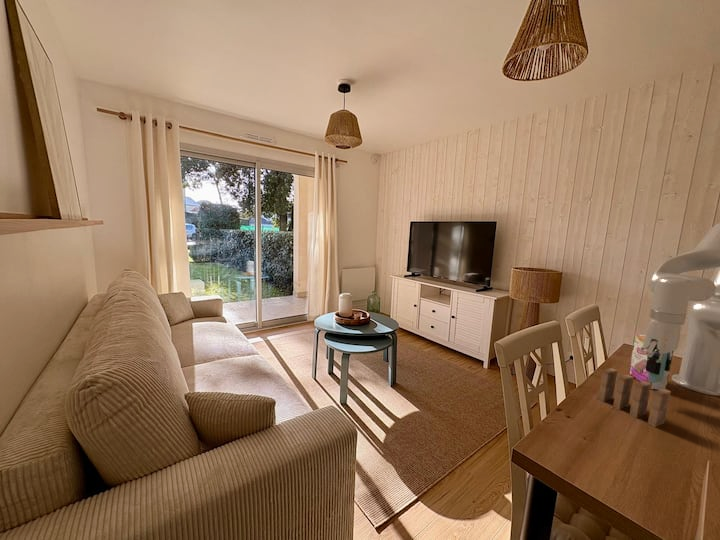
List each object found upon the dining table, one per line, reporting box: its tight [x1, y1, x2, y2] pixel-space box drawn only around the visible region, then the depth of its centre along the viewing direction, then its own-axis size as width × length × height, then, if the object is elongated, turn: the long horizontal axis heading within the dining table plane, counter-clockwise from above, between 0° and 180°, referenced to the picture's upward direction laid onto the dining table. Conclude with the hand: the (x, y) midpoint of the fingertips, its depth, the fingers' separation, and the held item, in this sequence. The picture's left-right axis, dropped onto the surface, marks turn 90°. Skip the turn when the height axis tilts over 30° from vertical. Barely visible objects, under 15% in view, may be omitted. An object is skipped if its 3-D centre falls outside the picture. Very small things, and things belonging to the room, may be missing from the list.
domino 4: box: [647, 388, 672, 428], centre depth 82 cm, size 5×2×10 cm, turn 112°
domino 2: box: [612, 373, 635, 410], centre depth 89 cm, size 5×2×10 cm, turn 112°
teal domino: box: [648, 350, 668, 383], centre depth 92 cm, size 5×2×10 cm, turn 112°
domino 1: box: [597, 367, 619, 403], centre depth 93 cm, size 5×2×10 cm, turn 112°
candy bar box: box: [628, 333, 675, 391], centre depth 104 cm, size 11×5×16 cm, turn 168°
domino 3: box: [629, 381, 652, 419], centre depth 86 cm, size 5×2×10 cm, turn 112°
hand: (657, 370), depth 92 cm, fingers closed on teal domino, 4 cm apart
